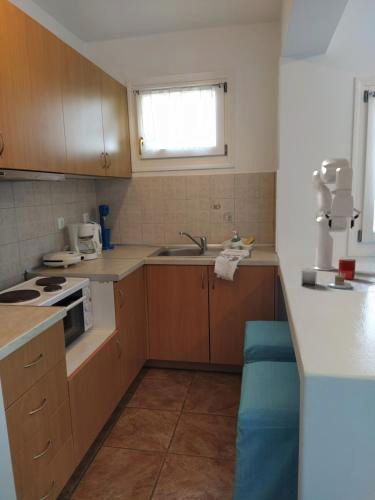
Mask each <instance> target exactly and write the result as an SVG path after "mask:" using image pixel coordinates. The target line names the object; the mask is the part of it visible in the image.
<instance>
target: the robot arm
mask: <svg viewBox="0 0 375 500" xmlns="http://www.w3.org/2000/svg"><path fill="white" fill-rule="evenodd" d="M320 167H321V168H320V169H317V170H315V171H314V172H313V173H312V179H311V180H312V186H313V189H314V191H315V193H316V209H317V212H318V214H319V215H321V216H318V217H317V218H316V219H315V230H316V231H315V234H316V236H315V237H316V238H315V240H316V241H315V242H316V243H315V244H316V245H315V264H314V265H312V267H311V269H317V271H323V272H324V271H330V272H331V271H334V270H335V269H336V267H335V266H334V265H333V255H334V254H333V253H334V238H333V236H332V235H331V234H330V233H344V232H346V231H347V229H348V218H349V217H350V219H351V220H350V226H349V227H350V229H353V228H354V227H355V221H356V219H358V218H359V216H360V215H361V213H362V211H361V210H359V209H356V208H355V207H354V196H353V195H352V187H353V174H354V172H353V171H354V170H353V168H352V167H350V162H349V160H348V159H347V158H346V157H345V158H344V157H340V158H339V157H336V158H335V157H334V158H327V159H324V160H323V161H322V163H321V166H320ZM331 184H332V185H333V184H334V188H335V189H334V190H332V191H331V189H330V188H329V187H328V186H327V185H331ZM332 194H333V196H332ZM354 212H355V213H356V214H355V215H354Z"/></svg>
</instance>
